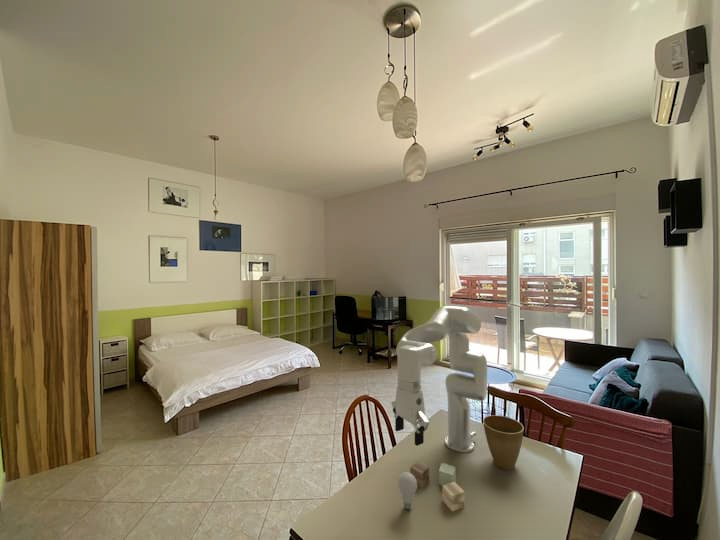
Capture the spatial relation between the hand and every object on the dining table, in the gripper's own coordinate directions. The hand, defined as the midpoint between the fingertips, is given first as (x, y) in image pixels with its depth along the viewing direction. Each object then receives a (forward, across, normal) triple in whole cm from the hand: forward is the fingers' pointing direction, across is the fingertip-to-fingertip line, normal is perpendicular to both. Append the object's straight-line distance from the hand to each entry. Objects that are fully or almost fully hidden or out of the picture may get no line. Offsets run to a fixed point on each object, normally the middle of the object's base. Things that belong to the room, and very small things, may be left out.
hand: (408, 436), depth 95 cm
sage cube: (+23, +2, -20) cm, 31 cm away
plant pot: (+23, -2, -48) cm, 53 cm away
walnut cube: (+23, +8, -12) cm, 27 cm away
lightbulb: (+23, 0, 0) cm, 23 cm away
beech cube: (+23, -6, -14) cm, 28 cm away
